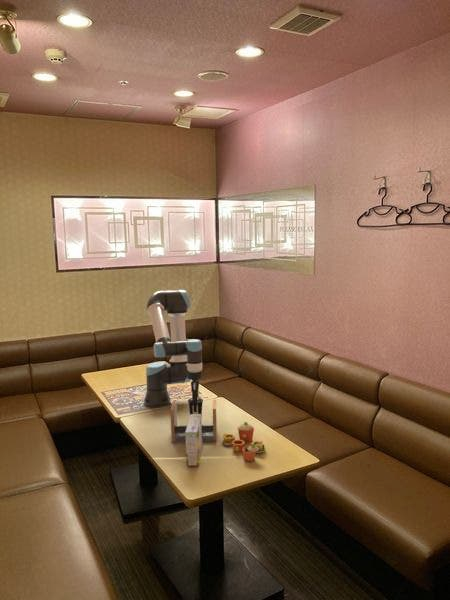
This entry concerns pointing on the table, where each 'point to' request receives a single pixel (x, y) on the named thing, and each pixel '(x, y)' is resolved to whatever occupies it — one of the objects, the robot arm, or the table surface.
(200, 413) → the drinking cup
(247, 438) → the toy tea set
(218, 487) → the table surface
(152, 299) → the robot arm
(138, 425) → the table surface
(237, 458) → the table surface
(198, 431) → the snack box
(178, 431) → the two-post stand
